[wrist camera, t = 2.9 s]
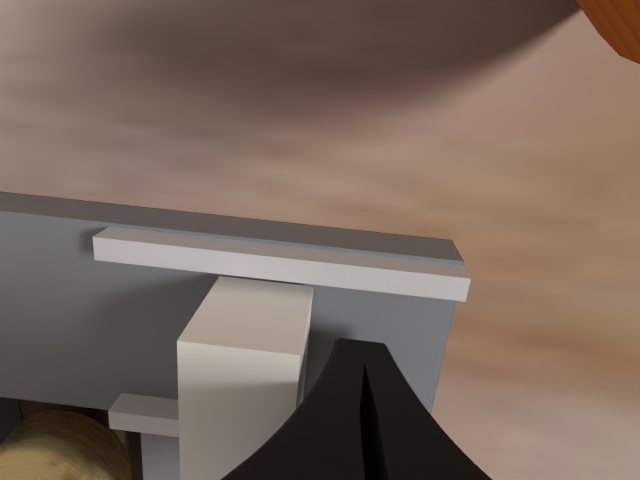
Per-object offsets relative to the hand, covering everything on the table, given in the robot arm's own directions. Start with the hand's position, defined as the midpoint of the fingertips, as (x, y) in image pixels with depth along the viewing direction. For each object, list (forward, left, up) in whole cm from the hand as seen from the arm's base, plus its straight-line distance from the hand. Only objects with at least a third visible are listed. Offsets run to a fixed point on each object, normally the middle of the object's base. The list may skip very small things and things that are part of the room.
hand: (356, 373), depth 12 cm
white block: (0, +2, -1) cm, 3 cm away
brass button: (-5, +9, -1) cm, 10 cm away
